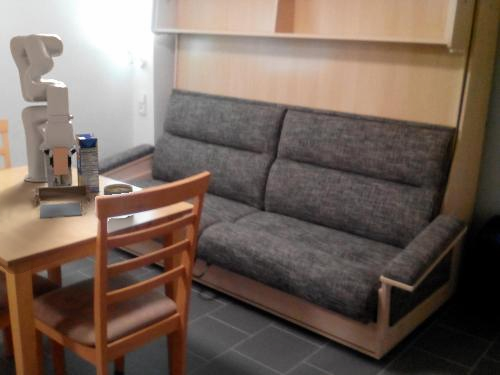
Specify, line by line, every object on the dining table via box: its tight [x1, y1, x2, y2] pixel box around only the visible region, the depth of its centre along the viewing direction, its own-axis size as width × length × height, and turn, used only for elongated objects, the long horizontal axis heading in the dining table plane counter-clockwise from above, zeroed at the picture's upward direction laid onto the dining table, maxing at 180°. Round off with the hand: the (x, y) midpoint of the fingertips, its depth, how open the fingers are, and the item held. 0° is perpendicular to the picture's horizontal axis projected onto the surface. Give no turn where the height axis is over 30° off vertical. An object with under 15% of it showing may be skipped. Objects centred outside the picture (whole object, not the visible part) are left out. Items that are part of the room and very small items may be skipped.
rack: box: [34, 185, 91, 206], centre depth 206 cm, size 10×19×4 cm, turn 109°
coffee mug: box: [103, 183, 134, 196], centre depth 191 cm, size 13×10×10 cm
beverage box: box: [75, 133, 100, 194], centre depth 218 cm, size 7×11×22 cm, turn 25°
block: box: [53, 148, 68, 175], centre depth 202 cm, size 6×5×10 cm
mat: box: [39, 201, 83, 219], centre depth 194 cm, size 14×14×1 cm
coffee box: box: [45, 149, 73, 187], centre depth 223 cm, size 9×6×16 cm
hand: (60, 165), depth 202 cm, fingers closed on block, 5 cm apart
